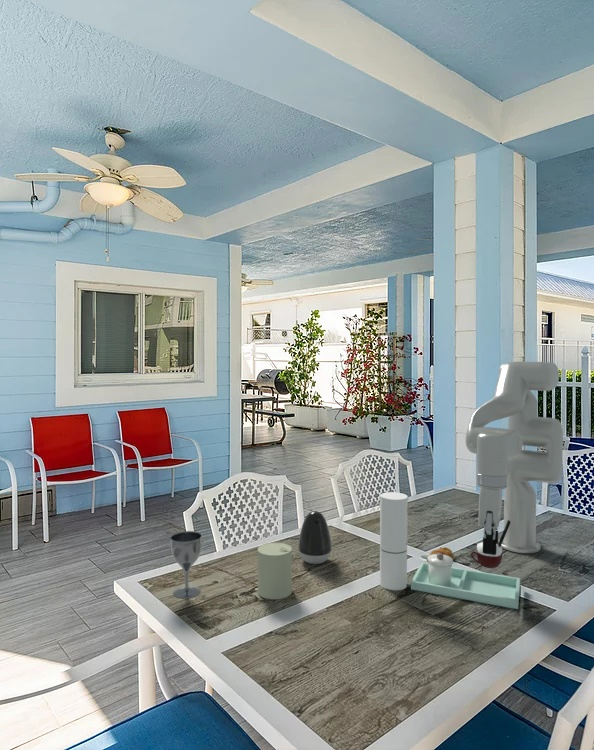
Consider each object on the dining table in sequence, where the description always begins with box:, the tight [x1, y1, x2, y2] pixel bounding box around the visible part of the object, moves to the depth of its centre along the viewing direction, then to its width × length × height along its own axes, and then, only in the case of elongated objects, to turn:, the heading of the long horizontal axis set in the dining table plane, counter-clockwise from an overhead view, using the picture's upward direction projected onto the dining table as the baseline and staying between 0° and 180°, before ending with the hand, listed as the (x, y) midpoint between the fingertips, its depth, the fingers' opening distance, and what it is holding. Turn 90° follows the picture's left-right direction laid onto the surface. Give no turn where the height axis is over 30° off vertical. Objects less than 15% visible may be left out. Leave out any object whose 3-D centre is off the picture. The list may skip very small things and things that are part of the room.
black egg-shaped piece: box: [297, 510, 333, 565], centre depth 159 cm, size 10×10×15 cm
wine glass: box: [170, 530, 203, 600], centre depth 138 cm, size 8×8×15 cm
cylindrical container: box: [379, 491, 408, 591], centre depth 140 cm, size 7×7×25 cm
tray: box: [410, 561, 521, 610], centre depth 139 cm, size 14×26×3 cm, turn 66°
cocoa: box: [470, 520, 511, 569], centre depth 136 cm, size 10×6×12 cm, turn 56°
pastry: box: [426, 547, 456, 563], centre depth 158 cm, size 9×7×4 cm
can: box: [256, 542, 293, 600], centre depth 139 cm, size 9×9×12 cm
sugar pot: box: [427, 553, 454, 587], centre depth 142 cm, size 7×7×8 cm
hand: (490, 548), depth 136 cm, fingers closed on cocoa, 5 cm apart
